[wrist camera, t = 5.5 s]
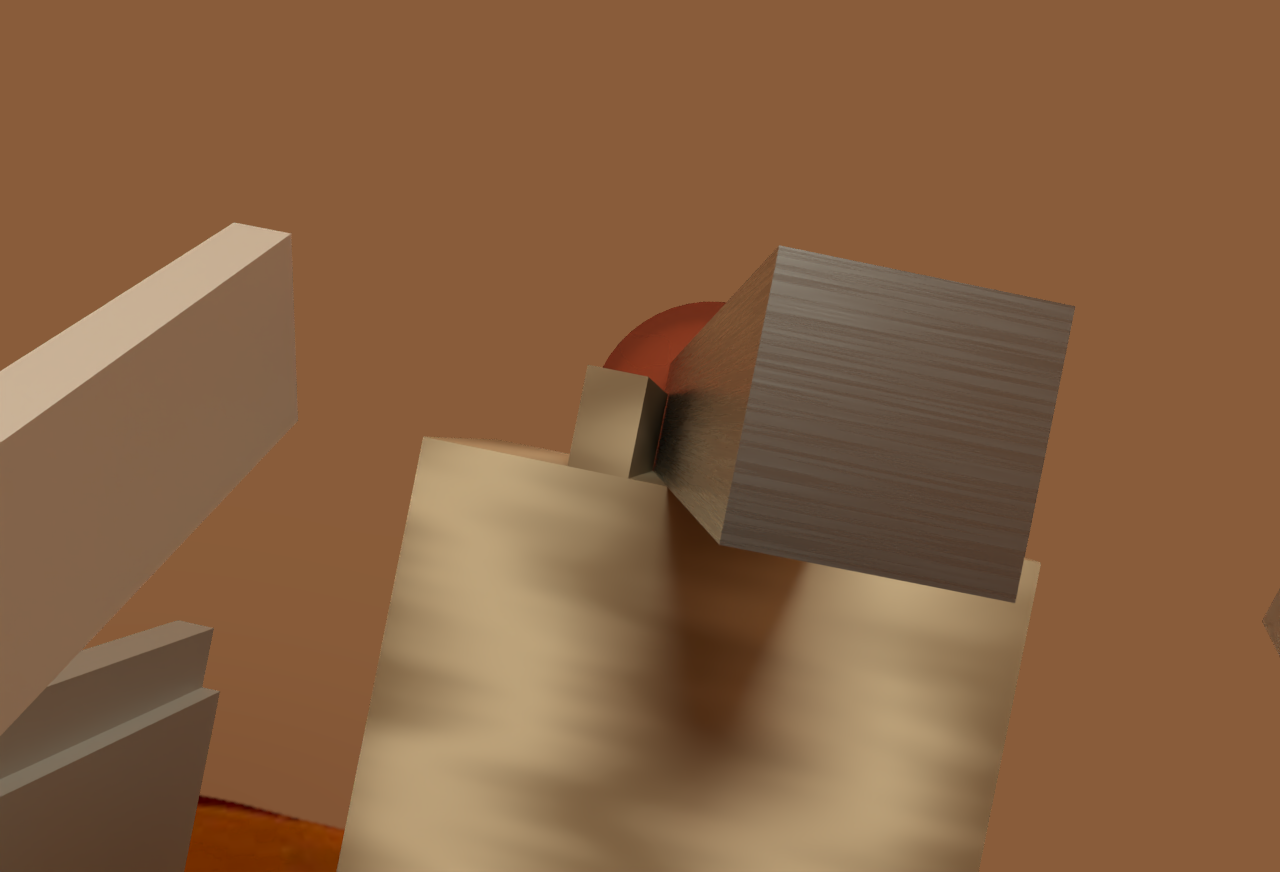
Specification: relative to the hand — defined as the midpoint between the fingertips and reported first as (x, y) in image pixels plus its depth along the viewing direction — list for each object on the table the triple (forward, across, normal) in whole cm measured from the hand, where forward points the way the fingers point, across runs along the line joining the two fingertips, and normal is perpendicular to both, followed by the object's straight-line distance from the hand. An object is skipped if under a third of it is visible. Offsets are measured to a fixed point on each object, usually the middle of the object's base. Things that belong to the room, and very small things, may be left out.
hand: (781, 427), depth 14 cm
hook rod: (+5, 0, -7) cm, 9 cm away
